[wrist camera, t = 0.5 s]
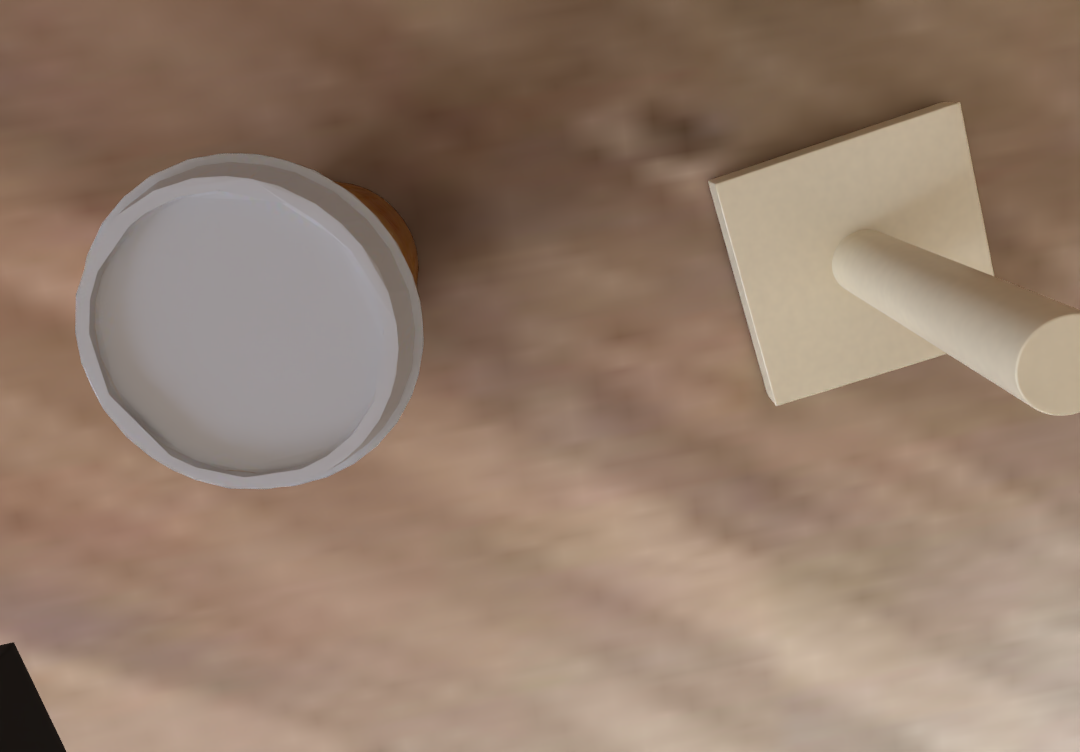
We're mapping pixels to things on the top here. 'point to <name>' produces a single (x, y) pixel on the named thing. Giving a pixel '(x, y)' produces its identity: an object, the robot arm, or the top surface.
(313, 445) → the disposable coffee cup
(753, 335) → the tall post
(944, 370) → the top surface
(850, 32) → the top surface
